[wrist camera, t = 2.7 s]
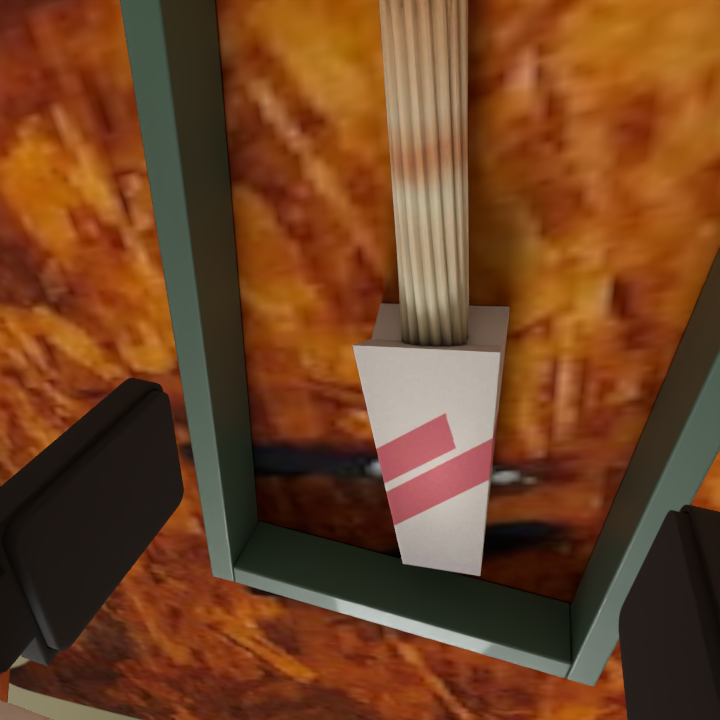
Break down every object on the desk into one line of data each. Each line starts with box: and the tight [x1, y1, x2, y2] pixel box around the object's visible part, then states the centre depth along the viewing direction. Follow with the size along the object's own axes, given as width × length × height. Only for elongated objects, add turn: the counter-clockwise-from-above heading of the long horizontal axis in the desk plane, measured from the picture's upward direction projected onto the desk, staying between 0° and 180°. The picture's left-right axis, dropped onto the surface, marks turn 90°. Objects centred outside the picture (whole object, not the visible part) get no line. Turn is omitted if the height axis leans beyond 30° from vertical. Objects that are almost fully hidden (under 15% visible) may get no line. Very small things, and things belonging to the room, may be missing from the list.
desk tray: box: [120, 0, 720, 686], centre depth 15 cm, size 26×15×2 cm, turn 177°
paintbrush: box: [353, 0, 510, 576], centre depth 15 cm, size 4×3×20 cm
